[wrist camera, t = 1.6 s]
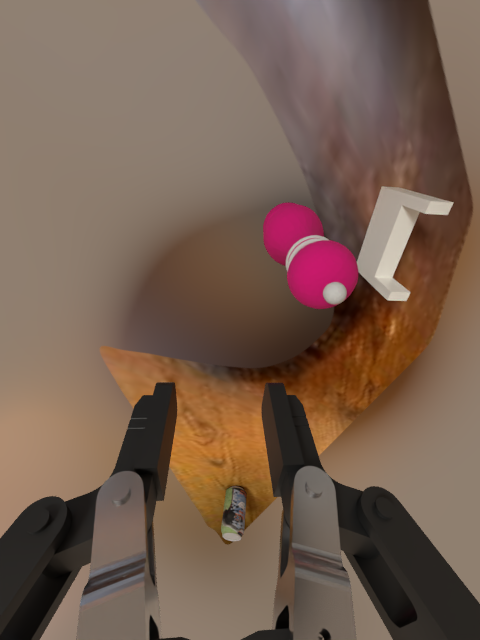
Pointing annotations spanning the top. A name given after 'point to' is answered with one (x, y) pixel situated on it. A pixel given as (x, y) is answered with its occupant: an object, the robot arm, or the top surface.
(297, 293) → the pepper mill
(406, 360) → the top surface
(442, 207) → the u rest
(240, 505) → the beverage can
